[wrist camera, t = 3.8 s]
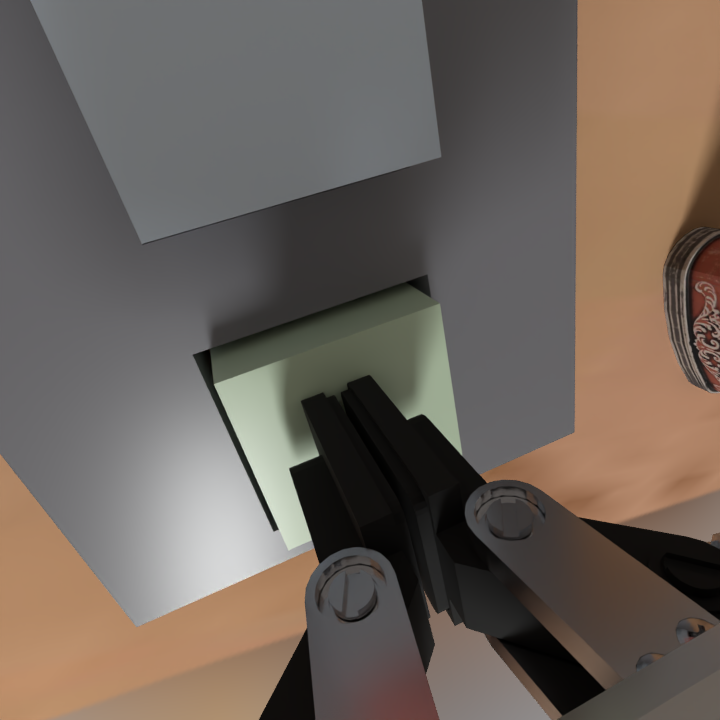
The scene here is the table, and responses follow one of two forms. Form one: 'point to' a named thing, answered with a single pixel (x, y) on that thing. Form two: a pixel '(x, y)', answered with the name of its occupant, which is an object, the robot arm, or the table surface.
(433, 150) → the bluegrey button
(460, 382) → the button panel
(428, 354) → the sage button
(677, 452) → the table surface
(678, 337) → the lighter
